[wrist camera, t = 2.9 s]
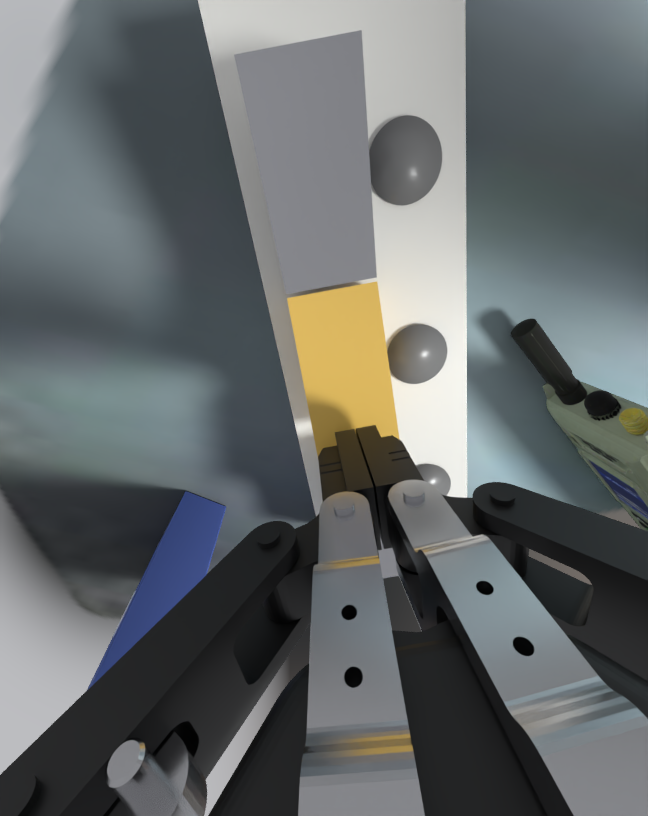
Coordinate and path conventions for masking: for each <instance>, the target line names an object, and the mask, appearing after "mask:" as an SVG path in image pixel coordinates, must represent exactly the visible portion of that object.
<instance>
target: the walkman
mask: <svg viewBox="0 0 648 816" xmlns="http://www.w3.org/2000/svg"><path fill="white" fill-rule="evenodd" d="M225 509H226V506H223V505H221V504H218V503H215V502H213V501H210V500H208V499H205V498H202V497H200V496H197V495H195V494H192V493H190V492H187V491H185V493H184V495H183V497H182V499H181V501H180V503H179V505H178V507H177V509H176V511H175V513H174V515H173V517H172V519H171V521H170V523H169V525H168V527H167V529H166V530H165V532H164V534H163V536H162V538H161V540H160V542H159V543H158V545H157V548H156V550H155V552H154V554H153V556H152V558H151V560H150V562H149V564H148V566H147V568H146V570H145V572H144V574H143V577H142V579H141V581H140V583H139V585H138V587H137V589H136V591H135V592H134V594H133V596H132V598H131V600H130V602H129V604H128V606H127V608H126V610H125V612H124V614H123V616H122V618H121V620H120V622H119V624H118V626H117V629H116V631H115V633H114V635H113V637H112V640H111V642H110V644H109V646H108V648H107V650H106V652H105V655H104V657H103V659H102V661H101V663H100V665H99V667H98V669H97V671H96V673H95V675H94V677H93V679H92V681H91V683H90V685H89V687H88V689H89V688H90V687H91V686H92V685H93V684H95V683H96V682H97V681H98V680H99V679H100V678H101V677H102V676H103V675H104V674H105V673H106V672H107V671H108V670H109V669H110V668H111V667H112V666H113V665H114V664H115V663H116V662H117V661H118V660H119V659H120V658H121V657H122V656H123V655H124V654H125V653H126V652H128V651H129V650H130V649H131V648H132V647H133V646H134V645H135V644H136V643H137V642H138V641H139V640H140V639H141V638H142V637H143V636H144V635H145V634H146V633H147V632H148V631H149V630H150V629H151V628H152V627H153V626H154V625H155V624H156V623H157V622H158V621H159V620H161V619H162V618H163V617H164V616H165V615H166V614H167V613H168V612H169V611H170V610H171V609H172V608H173V607H174V606H175V605H176V604H177V603H178V602H179V601H180V600H181V599H182V598H183V597H184V596H185V595H186V594H187V593H188V592H189V591H190V590H191V589H193V588H194V587H195V586H196V585H197V584H198V583H199V582H200V581H201V580H202V579H203V578H204V577H205V576H206V575H207V571H208V568H209V565H210V561H211V558H212V554H213V551H214V547H215V544H216V540H217V537H218V534H219V530H220V527H221V523H222V520H223V516H224V513H225Z"/></svg>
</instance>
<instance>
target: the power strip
mask: <svg viewBox="0 0 648 816" xmlns="http://www.w3.org/2000/svg"><path fill="white" fill-rule="evenodd" d="M198 3H199V7H200V12H201V16H202V20H203V25H204V29H205V34H206V38H207V42H208V47H209V51H210V55H211V60H212V64H213V69H214V73H215V77H216V82H217V86H218V90H219V95H220V99H221V104H222V108H223V112H224V117H225V121H226V125H227V130H228V134H229V138H230V143H231V147H232V152H233V156H234V160H235V165H236V169H237V173H238V178H239V182H240V187H241V191H242V195H243V200H244V204H245V208H246V213H247V217H248V221H249V226H250V230H251V235H252V239H253V243H254V248H255V252H256V256H257V261H258V265H259V270H260V274H261V278H262V283H263V287H264V291H265V296H266V300H267V304H268V309H269V313H270V318H271V322H272V326H273V331H274V335H275V339H276V344H277V348H278V353H279V357H280V361H281V366H282V370H283V374H284V379H285V383H286V387H287V392H288V396H289V401H290V405H291V409H292V414H293V418H294V422H295V427H296V431H297V436H298V440H299V444H300V449H301V453H302V457H303V462H304V466H305V471H306V475H307V479H308V484H309V488H310V492H311V497H312V501H313V505H314V510H315V514H316V516H317V515H318V514H319V511H320V506H321V504H322V503H323V500H322V490H321V481H320V471H319V462H318V456H317V451H316V446H315V440H314V435H313V430H312V425H311V420H310V415H309V409H308V404H307V399H306V394H305V389H304V384H303V379H302V373H301V368H300V363H299V358H298V353H297V348H296V343H295V337H294V332H293V327H292V322H291V317H290V312H289V306H288V301H287V298H291V297H296V296H301V295H307V294H312V293H317V292H323V291H328V290H334V289H339V288H344V287H350V286H355V285H361V284H366V283H371V282H377V283H378V290H379V297H380V304H381V311H382V319H383V326H384V333H385V340H386V347H387V354H388V361H389V368H390V375H391V382H392V389H393V396H394V404H395V411H396V418H397V425H398V432H399V439H400V440H401V441H402V442H403V444H404V446H405V447H406V449H407V451H408V453H409V455H410V457H411V458H412V460H413V462H414V463H415V465H416V467H417V469H418V471H419V472H420V474H421V476H422V478H423V479H424V481H426V482H428V483H430V484H432V485H434V486H435V487H436V488H437V489H438V491H439V492H440V493H441V494H442V495H445V496H450V497H463V498H467V311H466V20H465V0H198ZM359 30H362V45H363V61H364V77H365V94H366V110H367V126H368V142H369V158H370V175H371V191H372V207H373V223H374V239H375V256H376V272H377V277H376V278H371V279H365V280H360V281H355V282H349V283H344V284H339V285H333V286H328V287H322V288H317V289H312V290H306V291H301V292H295V293H290V294H286V292H285V287H284V282H283V278H282V273H281V269H280V264H279V259H278V255H277V250H276V246H275V241H274V236H273V232H272V227H271V222H270V218H269V213H268V209H267V204H266V199H265V195H264V190H263V186H262V181H261V176H260V172H259V167H258V163H257V158H256V153H255V149H254V144H253V140H252V135H251V130H250V126H249V121H248V117H247V112H246V107H245V103H244V98H243V94H242V89H241V84H240V80H239V75H238V71H237V66H236V61H235V57H234V55H235V54H240V53H245V52H250V51H255V50H261V49H266V48H271V47H276V46H281V45H287V44H292V43H297V42H302V41H307V40H312V39H318V38H323V37H328V36H333V35H338V34H344V33H349V32H354V31H359Z"/></svg>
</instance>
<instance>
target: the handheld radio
mask: <svg viewBox="0 0 648 816" xmlns="http://www.w3.org/2000/svg"><path fill="white" fill-rule="evenodd" d="M511 336H512V337H513V339H514V340H515V341H516V343H517V344H518V345H519V346H520V348H521V349H522V350H523V352H524V353H525V354H526V356H527V357H528V358H529V360H530V361H531V362H532V363H533V365H534V366H535V367H536V369H537V370H538V371H539V373H540V374H541V375H542V377H543V378H544V379H545V380H546V382H547V383H546V384H545V385H544V386H543V389H544V391H545V394H546V397H547V400H546V405H547V409H548V411H549V413H550V414H551V415H552V417H553V418H554V420H555V421H556V422H557V424H558V425H559V426H560V427H561V429H562V430H563V431H564V432H565V434H566V435H567V436H568V438H569V439H570V440H571V441H572V443H573V444H574V445H575V447H576V448H577V449H578V454H580V455H581V456H582V458H583V459H584V460H585V461H586V463H587V464H588V465H589V466H590V468H591V469H592V470H593V471H594V473H595V474H596V475H597V476H598V478H599V479H600V480H601V481H602V483H603V484H604V485H605V486H606V488H607V489H608V490H609V491H610V493H611V494H612V495H613V496H614V498H615V499H616V501H618V502H620V504H621V505H622V506H623V507H624V508H625V510H626V511H627V512H628V513H629V515H630V516H631V517H632V518H633V520H635V522H636V523H637V524H638V526H639V527H640V528H641V529H642V530H645V531H648V408H646V407H644V406H641V405H639V404H636V403H634V402H631V401H629V400H626V399H624V398H621V397H619V396H616V395H614V394H611V393H609V392H607V391H603V390H601V389H598V388H596V387H593V386H591V385H588V384H586V383H583V382H580V381H579V380H577V379H576V378H575V377H574V376H573V374H572V370H571V369H570V367H569V366H568V365H567V363H566V362H565V360H564V359H563V358H562V356H561V355H560V353H559V352H558V351H557V349H556V348H555V346H554V345H553V344H552V342H551V341H550V339H549V338H548V337H547V335H546V334H545V332H544V331H543V330H542V328H541V327H540V325H539V324H538V323H537V321H536V320H535V319H527V320H525V321H522V322H521V323H519V324H518V325H516V326H515V327H514V328H513V330H512V331H511Z"/></svg>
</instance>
